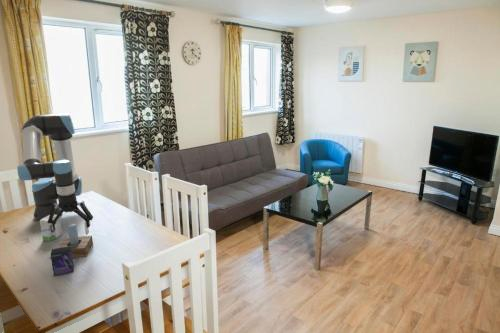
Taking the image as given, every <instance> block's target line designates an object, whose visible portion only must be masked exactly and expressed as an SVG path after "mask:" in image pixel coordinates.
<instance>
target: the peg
mask: <svg viewBox="0 0 500 333" xmlns="http://www.w3.org/2000/svg"><path fill="white" fill-rule="evenodd" d="M66 227H67V236H68V238H69V242H70V246H72V245H79V239H78V237H79V234H78V226H77V224H75V223H72V224H69V225H67V226H66Z"/></svg>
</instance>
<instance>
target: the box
mask: <svg viewBox="0 0 500 333" xmlns="http://www.w3.org/2000/svg"><path fill="white" fill-rule="evenodd" d="M50 260H51V267H52V272H53V273H52V274H53V276H54V277H56V276H60V275H67V274H72V273H74V268H75V263H74V262H75V261H74V259H73V254H72V247H71V246H68V247H62V248H58V247H56V248H52V249H51V251H50Z"/></svg>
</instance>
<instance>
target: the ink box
mask: <svg viewBox="0 0 500 333" xmlns="http://www.w3.org/2000/svg"><path fill="white" fill-rule="evenodd" d="M49 216H50V215H49ZM49 216H47V217H45V218H43V219H41V220H40V221H39V223H40V224H39V225H40V231H41V236H42V241H44V242H52V241H54V240H55V239H57V238H58V237H57V236H56V230H53V225H52V224H51V223H47V222H48V219H49ZM56 216H57V215H55V214H54V216H53V219H52V220H54V219H55V218H56ZM56 222H58V224H59V230H60V235H59V237H60V236H62V234H63V232H62V227H61V226H62V225H61V220H60V217H59V218H58V220H57V221H56Z"/></svg>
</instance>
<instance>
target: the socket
mask: <svg viewBox="0 0 500 333" xmlns="http://www.w3.org/2000/svg"><path fill="white" fill-rule="evenodd" d="M78 239H79V245H72V246H71V247H72V254H73V260H74V259H83V258H84V259H85V258H87V257H88V256H89V253H90V251H91V249H92V248H93V246H94V241H93V235H86V236H85V235H84V236H83V235H82V236H81V235H80V236H78ZM68 246H70V242H69V237H64V238H63V239H62V241H61V242H60V244H59V245H58V246H57V248H62V247H68Z"/></svg>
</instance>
